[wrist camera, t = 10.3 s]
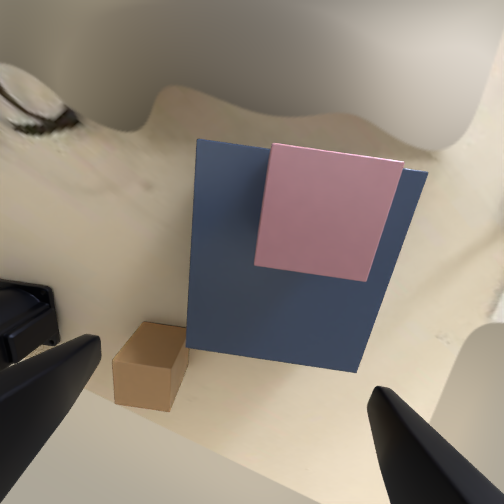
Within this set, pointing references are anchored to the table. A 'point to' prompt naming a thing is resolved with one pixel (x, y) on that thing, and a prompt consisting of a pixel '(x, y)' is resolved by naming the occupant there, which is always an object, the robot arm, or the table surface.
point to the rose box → (324, 211)
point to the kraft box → (150, 367)
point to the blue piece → (276, 272)
